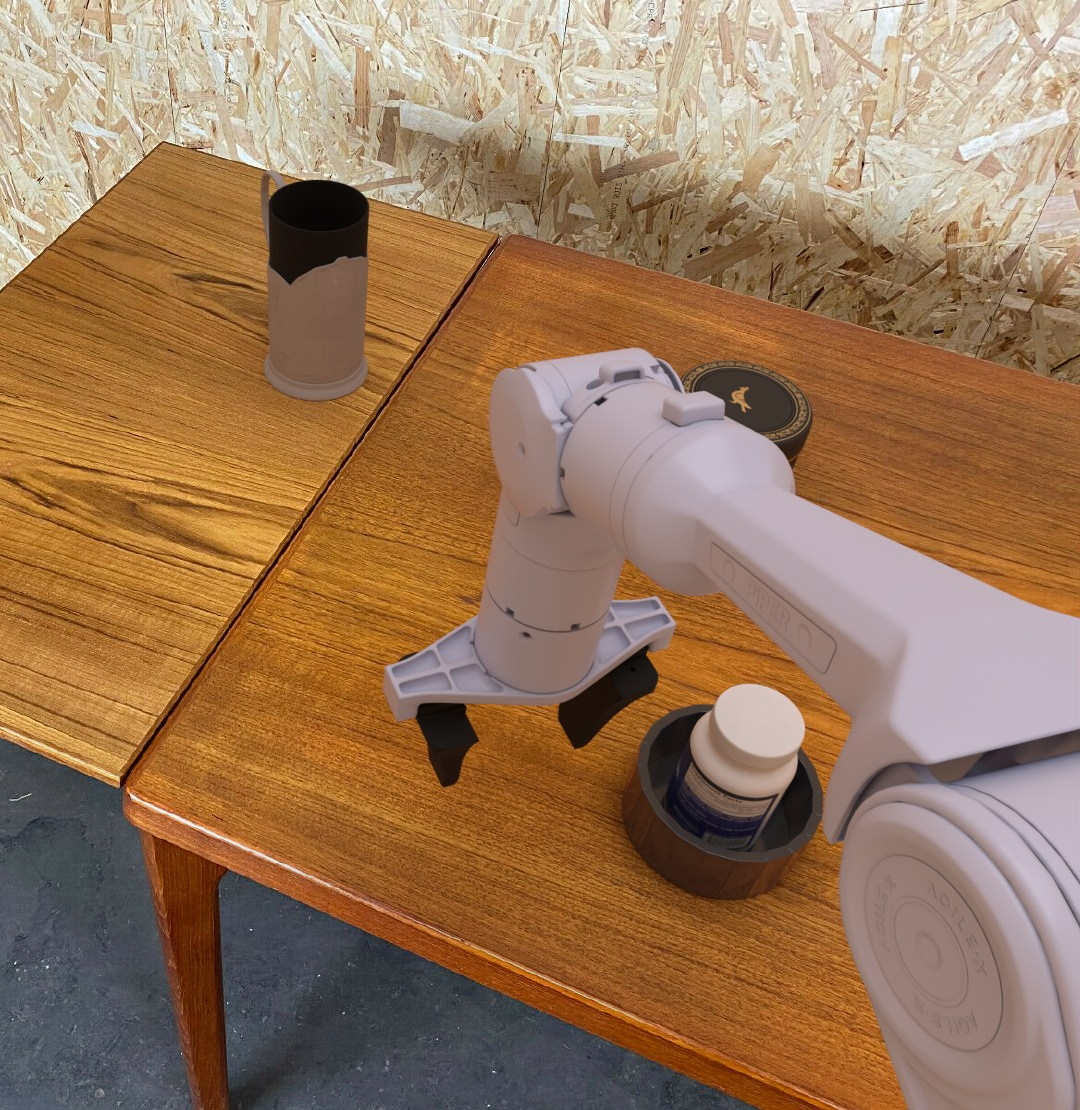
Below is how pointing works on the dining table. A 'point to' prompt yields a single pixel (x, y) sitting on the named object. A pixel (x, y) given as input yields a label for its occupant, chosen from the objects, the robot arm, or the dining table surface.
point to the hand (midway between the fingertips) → (507, 751)
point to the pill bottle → (736, 767)
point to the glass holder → (315, 287)
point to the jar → (757, 401)
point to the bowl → (693, 857)
